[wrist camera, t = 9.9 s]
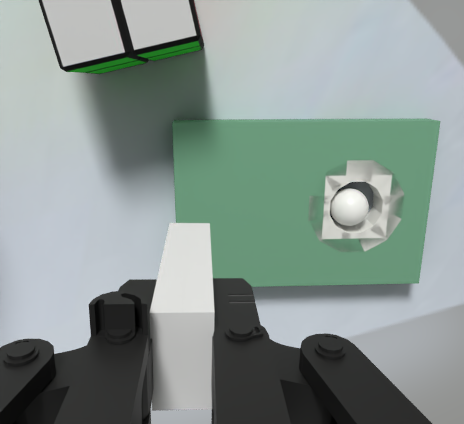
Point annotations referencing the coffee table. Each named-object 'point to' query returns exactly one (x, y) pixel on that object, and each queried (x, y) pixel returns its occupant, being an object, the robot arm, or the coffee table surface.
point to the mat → (306, 197)
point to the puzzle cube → (119, 32)
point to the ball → (349, 207)
